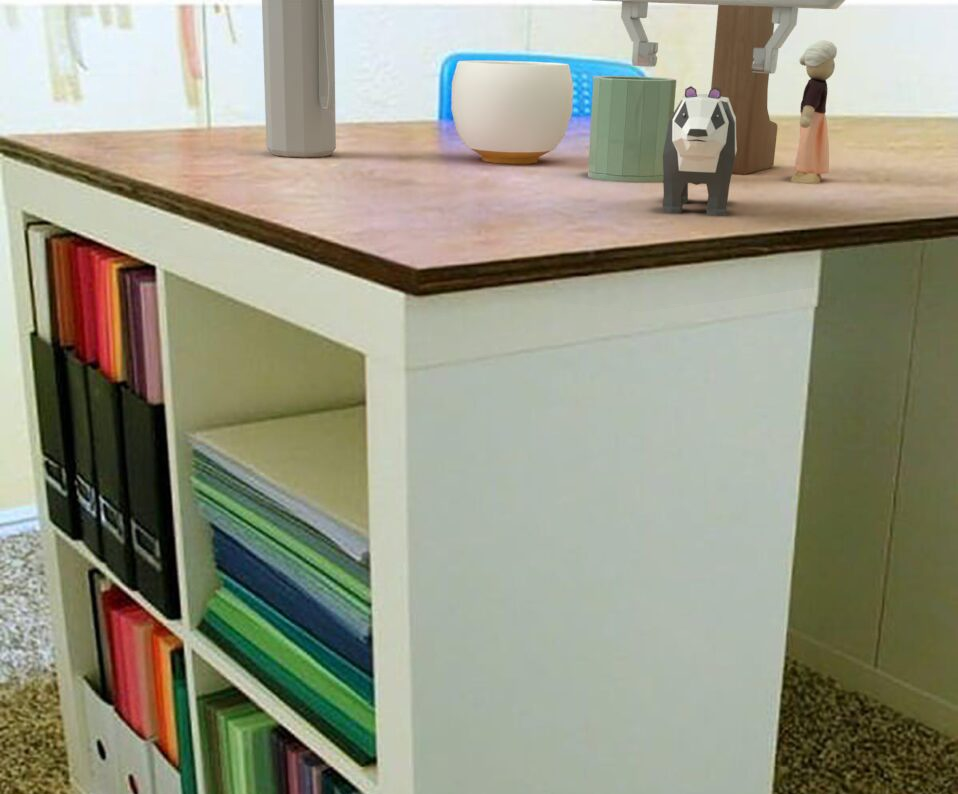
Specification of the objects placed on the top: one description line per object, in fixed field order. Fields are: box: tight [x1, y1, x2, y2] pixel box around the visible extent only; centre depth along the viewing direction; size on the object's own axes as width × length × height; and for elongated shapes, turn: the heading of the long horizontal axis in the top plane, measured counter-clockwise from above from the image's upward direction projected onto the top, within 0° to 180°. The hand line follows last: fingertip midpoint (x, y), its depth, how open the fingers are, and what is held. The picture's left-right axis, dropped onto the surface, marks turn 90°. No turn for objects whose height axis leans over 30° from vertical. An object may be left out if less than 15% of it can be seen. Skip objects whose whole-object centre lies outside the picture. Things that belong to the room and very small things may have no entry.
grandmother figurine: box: [790, 39, 838, 185], centre depth 122 cm, size 8×4×13 cm, turn 171°
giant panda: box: [661, 85, 737, 217], centre depth 100 cm, size 15×6×10 cm, turn 169°
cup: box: [450, 60, 574, 165], centre depth 132 cm, size 12×12×10 cm
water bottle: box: [261, 0, 337, 159], centre depth 129 cm, size 9×8×25 cm
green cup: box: [587, 75, 677, 183], centre depth 121 cm, size 8×8×9 cm
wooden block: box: [710, 5, 779, 176], centre depth 128 cm, size 9×4×18 cm, turn 150°
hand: (702, 69), depth 99 cm, fingers open, 8 cm apart
